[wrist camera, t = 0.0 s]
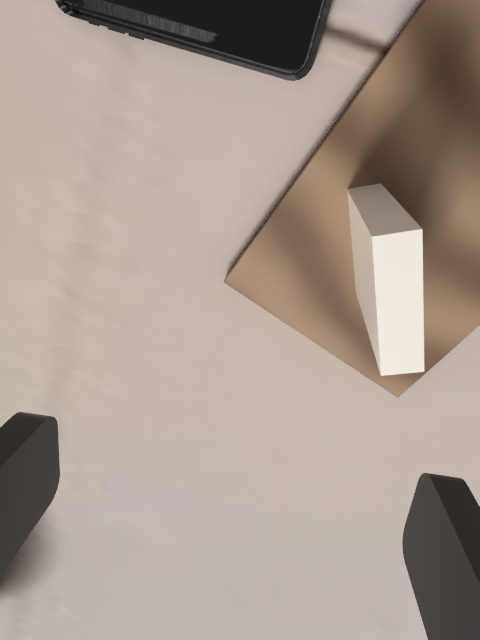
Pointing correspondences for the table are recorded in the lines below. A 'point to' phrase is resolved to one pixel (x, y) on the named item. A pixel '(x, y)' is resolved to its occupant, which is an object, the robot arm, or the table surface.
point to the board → (401, 182)
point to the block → (388, 278)
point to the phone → (220, 28)
